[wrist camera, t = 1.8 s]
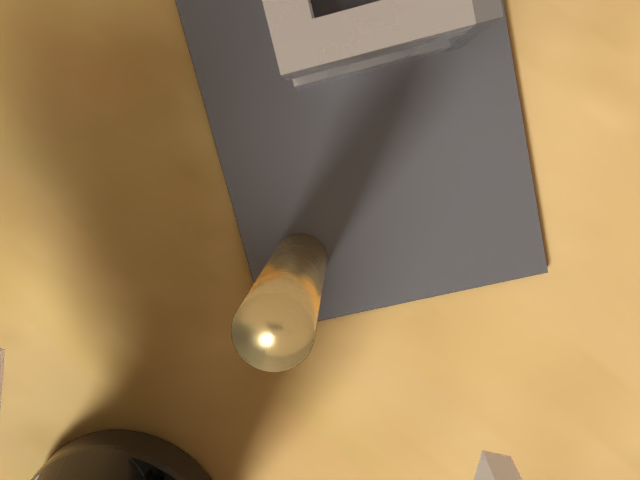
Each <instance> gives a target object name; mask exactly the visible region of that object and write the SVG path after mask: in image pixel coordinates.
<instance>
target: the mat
mask: <svg viewBox="0 0 640 480" xmlns="http://www.w3.org/2000/svg"><path fill="white" fill-rule="evenodd" d="M376 1H380V0H311V4H312V8H313V13H314V17H315V18H318V17H321V16H325V15H329V14H332V13H336V12H340V11H343V10H347V9H351V8H354V7H358V6H362V5H365V4H369V3H372V2H376ZM175 2H176V5H177V9H178V12H179V16H180V19H181V23H182V27H183V30H184V34H185V37H186V41H187V45H188V48H189V52H190V55H191V59H192V63H193V66H194V70H195V73H196V77H197V81H198V84H199V88H200V91H201V95H202V98H203V102H204V106H205V109H206V113H207V116H208V120H209V124H210V127H211V131H212V134H213V138H214V142H215V145H216V149H217V152H218V156H219V159H220V163H221V167H222V170H223V174H224V177H225V181H226V185H227V188H228V192H229V195H230V199H231V203H232V206H233V210H234V213H235V217H236V221H237V224H238V228H239V231H240V235H241V238H242V242H243V246H244V249H245V253H246V256H247V260H248V264H249V267H250V271H251V274H252V278H253V282H254V283H255V281H256V280H257V278H258V277H259V275H260V273H261V272H262V270H263V269H264V267H265V265H266V264H267V262H268V261H269V259H270V257H271V256H272V254H273V253H274V251H275V249H276V248H277V246H278V245H279V243H280V242H281V241H282V240H283V239H284V238H286V237H287V236H289V235H291V234H295V233H305V234H309V235H312V236H314V237H315V238H317V239H318V240H319V241H320V242H321V243H322V245H323V246H324V248H325V250H326V254H327V265H326V271H325V277H324V282H323V288H322V294H321V300H320V306H319V312H318V318H317V321H321V320H326V319H331V318H336V317H340V316H345V315H350V314H354V313H359V312H364V311H368V310H373V309H378V308H383V307H387V306H392V305H397V304H401V303H406V302H411V301H415V300H420V299H425V298H430V297H434V296H439V295H444V294H448V293H453V292H458V291H462V290H467V289H472V288H477V287H481V286H486V285H491V284H495V283H500V282H505V281H509V280H514V279H519V278H524V277H528V276H533V275H538V274H542V273H547V272H548V269H547V263H546V257H545V251H544V245H543V239H542V233H541V227H540V221H539V215H538V209H537V203H536V197H535V191H534V185H533V179H532V173H531V167H530V160H529V154H528V148H527V142H526V136H525V130H524V124H523V118H522V112H521V106H520V100H519V94H518V88H517V82H516V76H515V70H514V64H513V58H512V51H511V45H510V39H509V33H508V27H507V21H506V15H505V9H504V3H503V0H501V5H502V11H503V17H502V18H501V19H499V20H498V21H497V22H495V23H494V24H493V25H491V26H490V27H489V28H487V29H486V30H485V31H483V32H482V33H481V34H479V35H478V36H477V37H475V38H474V39H473V40H471V41H470V42H469V43H467V44H466V45H465V46H463V47H462V48H458V49H455V50H451V51H447V52H443V53H439V54H435V55H431V56H428V57H424V58H420V59H416V60H412V61H408V62H405V63H401V64H397V65H393V66H389V67H385V68H381V69H378V70H374V71H370V72H366V73H362V74H358V75H355V76H351V77H347V78H343V79H339V80H335V81H331V82H328V83H324V84H320V85H316V86H312V87H308V88H305V89H301V90H298V89H296V88H295V87H294V84H293V80H292V79H291V80H288V81H287V80H286V79H284V78H283V77H282V76H281V75H280V71H279V67H278V63H277V59H276V55H275V51H274V46H273V42H272V38H271V34H270V30H269V26H268V22H267V18H266V14H265V10H264V6H263V2H262V0H175Z"/></svg>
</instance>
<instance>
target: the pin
mask: <svg viewBox="0 0 640 480" xmlns="http://www.w3.org/2000/svg"><path fill="white" fill-rule="evenodd" d="M326 265H327V254H326V250H325V248H324V246H323V245H322V243H321V242H320V241H319V240H318V239H317V238H315V237H314V236H312V235H309V234H305V233H295V234H291V235H289V236H287V237H286V238H284V239H283V240H282V241H281V242H280V243H279V245H278V246H277V248H276V249H275V251H274V253H273V254H272V256H271V257H270V259H269V261H268V262H267V264H266V265H265V267H264V269H263V270H262V272H261V273H260V275H259V277H258V278H257V280H256V281H255V283H254V285H253V286H252V288H251V289H250V291H249V293H248V294H247V296H246V297H245V299H244V301H243V302H242V304H241V305H240V307H239V309H238V310H237V312H236V314H235V316H234V318H233V321H232V326H231V337H232V341H233V344H234V347H235V349H236V351H237V352H238V354H239V355H240V356H241V358H242V359H243V360H244V361H246V362H247V363H248V364H250V365H251V366H253V367H255V368H257V369H259V370H262V371H267V372H282V371H286V370H289V369H292V368H294V367H295V366H297V365H299V364H300V363H301V362H302V361H303V360H304V359H305V358H306V357H307V356H308V354H309V352H310V351H311V348H312V346H313V342H314V336H315V330H316V324H317V318H318V312H319V306H320V300H321V294H322V288H323V282H324V277H325V271H326Z"/></svg>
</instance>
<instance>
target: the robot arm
mask: <svg viewBox="0 0 640 480" xmlns="http://www.w3.org/2000/svg"><path fill="white" fill-rule="evenodd" d="M4 353H5V349H1V348H0V408H1V394H2V381H3V367H4ZM31 480H211V479H210V477H209V476H208V475H207V473H206V472H205V471H204V470H203V469H202V468H201V466H200V465H199V464H198V463H197V462H196V461H195V460H193V459H192V458H191V457H190V456H189V455H187V454H186V453H185V452H183V451H182V450H180V449H179V448H177V447H176V446H174V445H172V444H170V443H168V442H166V441H164V440H162V439H159V438H157V437H154V436H151V435H148V434H144V433H139V432H134V431H124V430H110V431H101V432H96V433H91V434H88V435H85V436H82V437H80V438H77V439H75V440H73V441H71V442H69V443H68V444H66V445H65V446H63V447H62V448H60V449H59V450H58V451H57V452H56V453H55V454H54V455H53V456H52V457H51V458H50V459H49V460H48V461H47V462H46V463H45V464H44V465H43V466H42V468H41V469H40V470H39V471H38V472H37V473H36V474H35V475H34V477H33V478H32V479H31ZM474 480H522V478H521V476H520V474H519V472H518V470H517V468H516V466H515V464H514V462H513V460H512V458H511V456H506V455H502V454H497V453H492V452H488V451H483V450H482V454H481V457H480V460H479V464H478V467H477V470H476V474H475V477H474Z"/></svg>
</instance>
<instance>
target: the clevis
mask: <svg viewBox="0 0 640 480" xmlns="http://www.w3.org/2000/svg"><path fill="white" fill-rule="evenodd" d="M262 2H263V6H264V10H265V14H266V18H267V22H268V26H269V30H270V34H271V38H272V42H273V46H274V51H275V55H276V59H277V63H278V67H279V71H280V75H281V76H282V77H283V78H284V79H286V80H287V81H288V80H291V79H292V80H293V84H294V87H295V88H296V89H298V90H301V89H305V88H308V87H312V86H316V85H320V84H324V83H328V82H331V81H335V80H339V79H343V78H347V77H351V76H355V75H358V74H362V73H366V72H370V71H374V70H378V69H381V68H385V67H389V66H393V65H397V64H401V63H405V62H408V61H412V60H416V59H420V58H424V57H428V56H431V55H435V54H439V53H443V52H447V51H451V50H455V49H458V48H462V47H463V46H465V45H466V44H467V43H469V42H470V41H471V40H473V39H474V38H475V37H477V36H478V35H479V34H481V33H482V32H483V31H485V30H486V29H487V28H489V27H490V26H491V25H493V24H494V23H495V22H497V21H498V20H499V19H501V18H502V17H503V11H502V5H501V0H380V1H376V2H372V3H369V4H365V5H362V6H358V7H354V8H351V9H347V10H343V11H340V12H336V13H332V14H329V15H325V16H321V17H318V18H315V17H314V13H313V8H312V4H311V0H262Z"/></svg>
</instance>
